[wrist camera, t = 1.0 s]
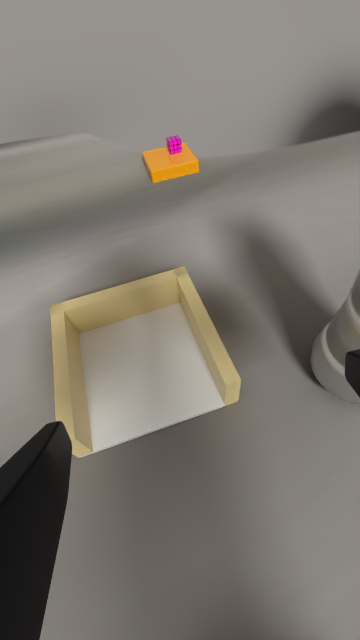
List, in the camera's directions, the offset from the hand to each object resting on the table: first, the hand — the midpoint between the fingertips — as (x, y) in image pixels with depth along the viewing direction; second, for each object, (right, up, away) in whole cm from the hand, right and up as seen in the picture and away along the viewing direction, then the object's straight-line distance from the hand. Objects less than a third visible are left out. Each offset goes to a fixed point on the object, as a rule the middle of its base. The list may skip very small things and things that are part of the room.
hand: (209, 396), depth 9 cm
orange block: (-3, +29, +42) cm, 51 cm away
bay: (-4, -2, +18) cm, 19 cm away
